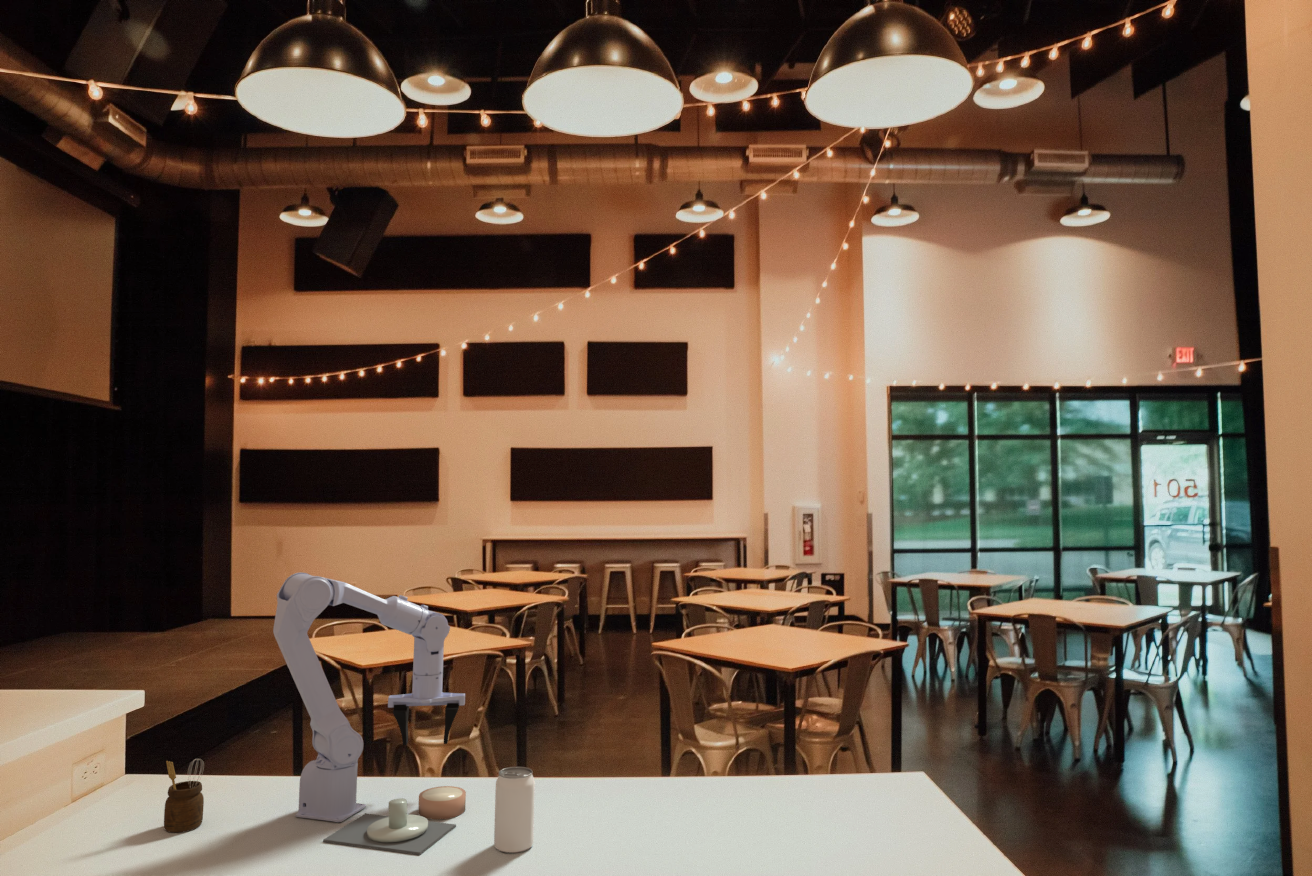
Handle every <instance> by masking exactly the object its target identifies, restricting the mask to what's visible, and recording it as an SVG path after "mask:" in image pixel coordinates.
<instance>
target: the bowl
mask: <svg viewBox="0 0 1312 876" xmlns="http://www.w3.org/2000/svg"><path fill="white" fill-rule="evenodd" d="M466 798H467V791H466V790H465V789H464V788H461V787H459V786H454V785H453V786H452V785H451V786H450V785H447V786H445V785H442V786H435V787H430V788H427V789H425V790H423V791H421V792H420V793H419V794H418V810H417V811H418V813H417V814H418V815H419V816H422V817H425V818H426V819H427V820H435V821H436V820H437V821H438V820H439V821H440V820H441V821H442V820H447V819H452V818H456V817H459V816H461V815H462V814H464V813H465V811H466Z"/></svg>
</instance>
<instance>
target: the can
mask: <svg viewBox="0 0 1312 876" xmlns="http://www.w3.org/2000/svg"><path fill="white" fill-rule="evenodd" d="M533 773H534V772H533V770H532V768H529V767H525V766H510V767H509V766H508V767H505V768H502V769H500V770H499V771H498V776H497V779H496V781H495V795H494V796H495V797H494V828H493V829H494V833H493V836H494V837H493V839H494V841H493V842H494V845H493V846H494V848H495V849H496V850H497V851H499V852H501V853H504V854H520V853H524V852H527V851H528V850H530V848H531V847H532V846H533V845H534V837H535V836H534V833H535V831H534V830H535V827H534V826H535V798H536V797H535V796H536V794H535V793H536V792H535V791H536V789H535V787H536V782H535V781H536V780H535V778H534V775H533Z"/></svg>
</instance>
